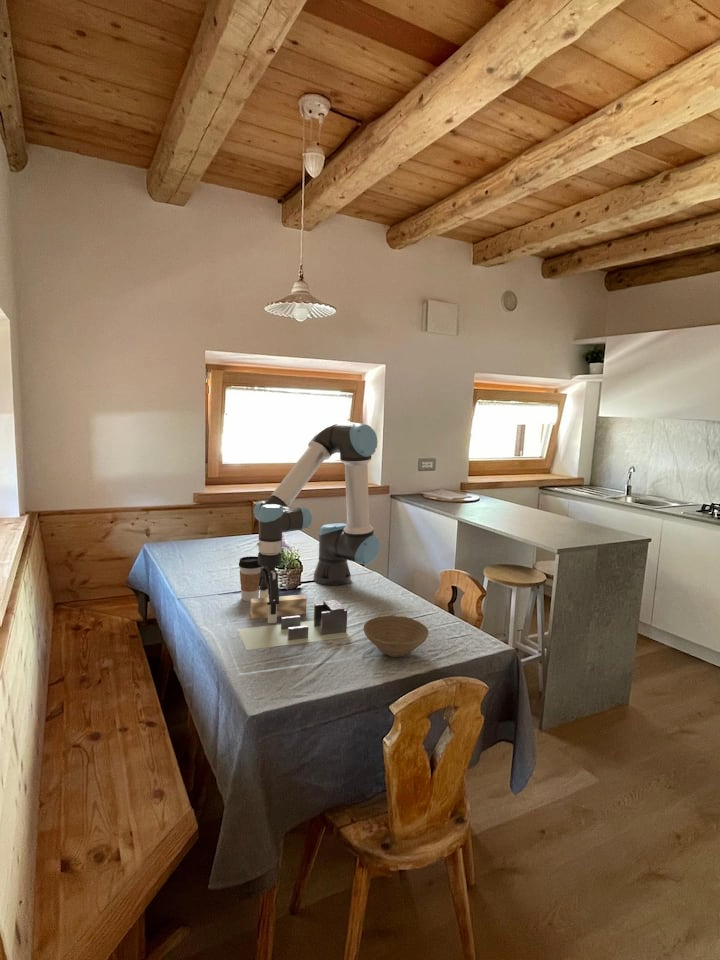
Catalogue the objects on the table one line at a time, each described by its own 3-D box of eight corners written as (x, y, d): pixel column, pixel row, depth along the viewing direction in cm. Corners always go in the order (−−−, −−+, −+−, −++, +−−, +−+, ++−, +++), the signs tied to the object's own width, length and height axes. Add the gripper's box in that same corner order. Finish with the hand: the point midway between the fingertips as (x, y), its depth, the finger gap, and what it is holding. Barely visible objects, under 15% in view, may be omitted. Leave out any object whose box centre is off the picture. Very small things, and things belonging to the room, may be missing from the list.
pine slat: (302, 611, 182) (303, 594, 181) (306, 615, 179) (306, 598, 178) (250, 616, 176) (250, 598, 175) (252, 620, 172) (252, 603, 171)
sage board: (334, 619, 176) (334, 618, 176) (351, 637, 162) (351, 636, 162) (237, 630, 164) (237, 629, 163) (246, 651, 150) (246, 650, 150)
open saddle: (299, 625, 168) (299, 615, 168) (308, 637, 160) (308, 626, 159) (280, 627, 166) (281, 617, 165) (288, 640, 157) (288, 629, 157)
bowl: (408, 676, 140) (410, 647, 139) (350, 656, 150) (351, 629, 149) (436, 651, 156) (438, 625, 155) (382, 634, 165) (383, 610, 164)
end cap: (321, 635, 162) (322, 610, 161) (313, 625, 169) (314, 601, 168) (346, 632, 165) (347, 608, 164) (337, 622, 172) (338, 599, 171)
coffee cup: (256, 603, 186) (257, 562, 184) (234, 601, 188) (234, 559, 186) (265, 595, 194) (266, 556, 193) (243, 593, 196) (244, 553, 194)
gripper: (251, 543, 182) (249, 604, 185) (266, 563, 160) (264, 631, 163) (272, 542, 185) (270, 602, 188) (290, 561, 163) (288, 628, 166)
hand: (267, 615), depth 176 cm, fingers open, 12 cm apart
